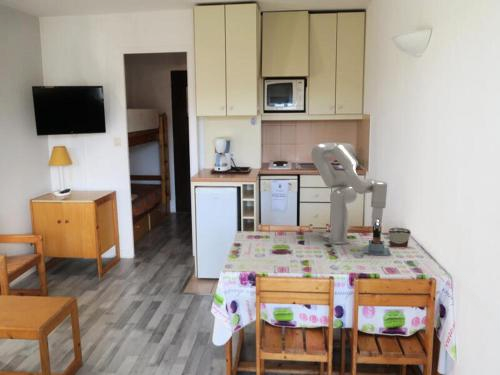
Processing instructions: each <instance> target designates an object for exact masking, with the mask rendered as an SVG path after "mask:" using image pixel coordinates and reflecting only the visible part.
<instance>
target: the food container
mask: <svg viewBox="0 0 500 375" xmlns="http://www.w3.org/2000/svg"><path fill="white" fill-rule="evenodd" d="M387 233H388V234H389V248H399V247H407V248H408V245H409V240H410V235H412V232H411V230H410V229H408V228H404V227H391V228H389V230H388V232H387Z"/></svg>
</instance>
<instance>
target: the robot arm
mask: <svg viewBox="0 0 500 375" xmlns="http://www.w3.org/2000/svg"><path fill="white" fill-rule="evenodd" d="M354 155H355V147H354V146H353V144H352V143H346V142H321V143H318V144H316V145H314V146H312V149H311V154H310V157H311V158H310V159H311V161H312V163H313V165H314V166H315V168H316V170H317V172H318V173H319V175H320V177H321V179H322V180H323V182H324V185H325V186H326V187H327V188H328V189H333V190H332V191H331V193H330V195H329V202H330V211H331V212H330V233H329V232H328V233H322V237H324V238H325V239H326V238H327V242H328V243H330V244H333V245H346V244H350V239H349V238H348V220H349V219H348V218H349V217H348V216H349V212H348V210H349V209H348V207H347V204H350V203H353V202H355V201H356V200H357V198H358V195H357V194H359V195H363V194H368V193H369V194H370V193H371V198H370V199H371V201H370V207H371V208H372V210H371V212H372V213H371V226H372V238H373V237H374V238H379V236H380V232H381V229H380V227H381V226H382V222H383V214H384V209H385V208H386V206H387V205H386V204H387V194H388V193H387V192H388V183H387V182H386V181H384V180H376V179H373V178H365V179H361V178H360V176H359V175H358V173H357V171H356V168H357V167H358V166H359V161H358V159H356V158H355V156H354ZM330 157H334V159H336V161H337V162H338V163H339V165H340V166H341V167H342V169H343V170H344V171H342V170H341V171H340V170H337V171H336V170H335V169H334V167H333V165H332V164H331V162H330V161H329V160H328V159H327V158H330Z"/></svg>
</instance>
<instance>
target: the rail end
mask: <svg viewBox="0 0 500 375" xmlns="http://www.w3.org/2000/svg"><path fill="white" fill-rule="evenodd" d="M381 237H382V233H381V231H380V236H379V238H374V237H373V236H372V240H373V242H372V244H380V243H381V241H382V239H381Z"/></svg>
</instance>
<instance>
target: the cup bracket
mask: <svg viewBox="0 0 500 375" xmlns="http://www.w3.org/2000/svg"><path fill="white" fill-rule="evenodd" d="M372 242H373V239H369V240H368V245H362V255H369V256H370V255H371V256H381V257H383V256H385V257H391V251H390V247H385V245H386V244H385V240H381V243H380V244H372Z"/></svg>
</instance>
